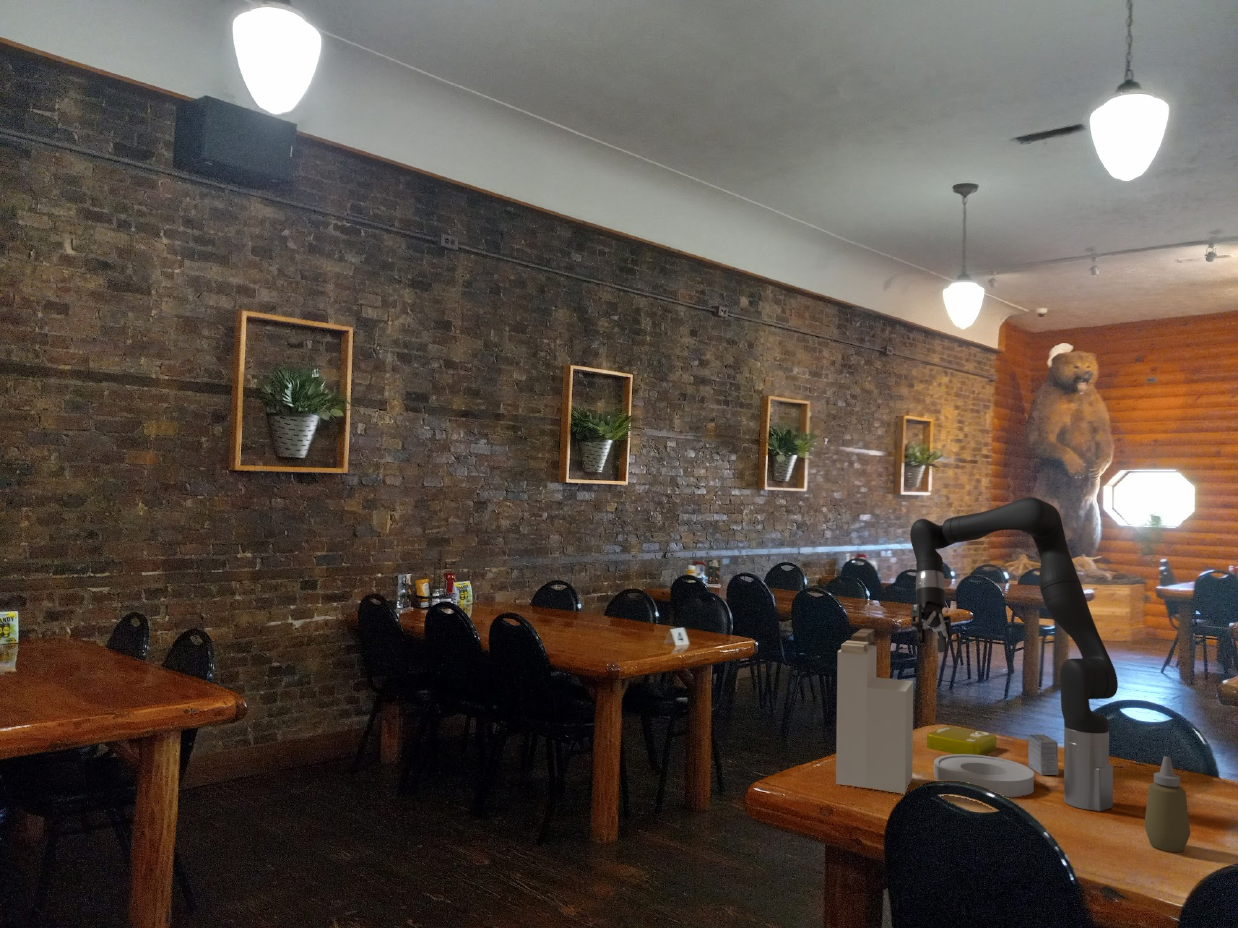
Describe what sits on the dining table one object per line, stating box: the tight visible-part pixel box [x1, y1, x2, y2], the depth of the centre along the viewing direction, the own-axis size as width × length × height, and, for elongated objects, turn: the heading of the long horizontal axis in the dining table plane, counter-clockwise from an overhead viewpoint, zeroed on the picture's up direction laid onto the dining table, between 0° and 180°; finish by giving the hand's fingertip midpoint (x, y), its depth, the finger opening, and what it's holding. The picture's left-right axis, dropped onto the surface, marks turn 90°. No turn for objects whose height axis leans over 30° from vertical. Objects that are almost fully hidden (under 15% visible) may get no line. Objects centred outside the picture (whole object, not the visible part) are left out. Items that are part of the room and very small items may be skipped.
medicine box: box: [1027, 733, 1059, 776], centre depth 237 cm, size 8×4×9 cm, turn 179°
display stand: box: [835, 644, 914, 796], centre depth 226 cm, size 15×16×32 cm
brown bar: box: [840, 628, 875, 654], centre depth 232 cm, size 24×5×3 cm, turn 156°
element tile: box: [926, 725, 997, 756], centre depth 259 cm, size 15×15×5 cm
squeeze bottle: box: [1143, 755, 1191, 853], centre depth 185 cm, size 8×8×18 cm
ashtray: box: [933, 754, 1036, 798], centre depth 227 cm, size 23×23×4 cm
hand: (932, 648), depth 244 cm, fingers open, 8 cm apart
